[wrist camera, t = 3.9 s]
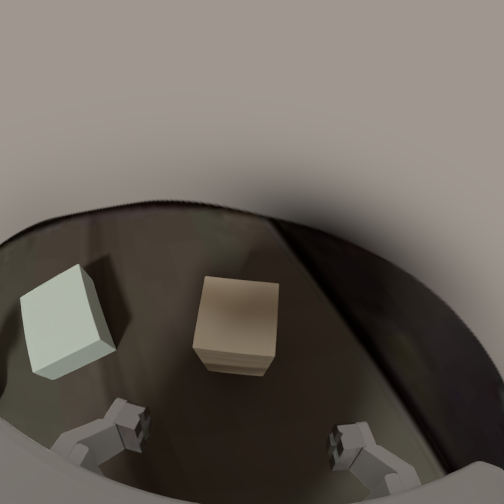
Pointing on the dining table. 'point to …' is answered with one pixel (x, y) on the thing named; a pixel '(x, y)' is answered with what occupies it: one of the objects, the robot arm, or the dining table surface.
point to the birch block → (237, 325)
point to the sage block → (64, 324)
